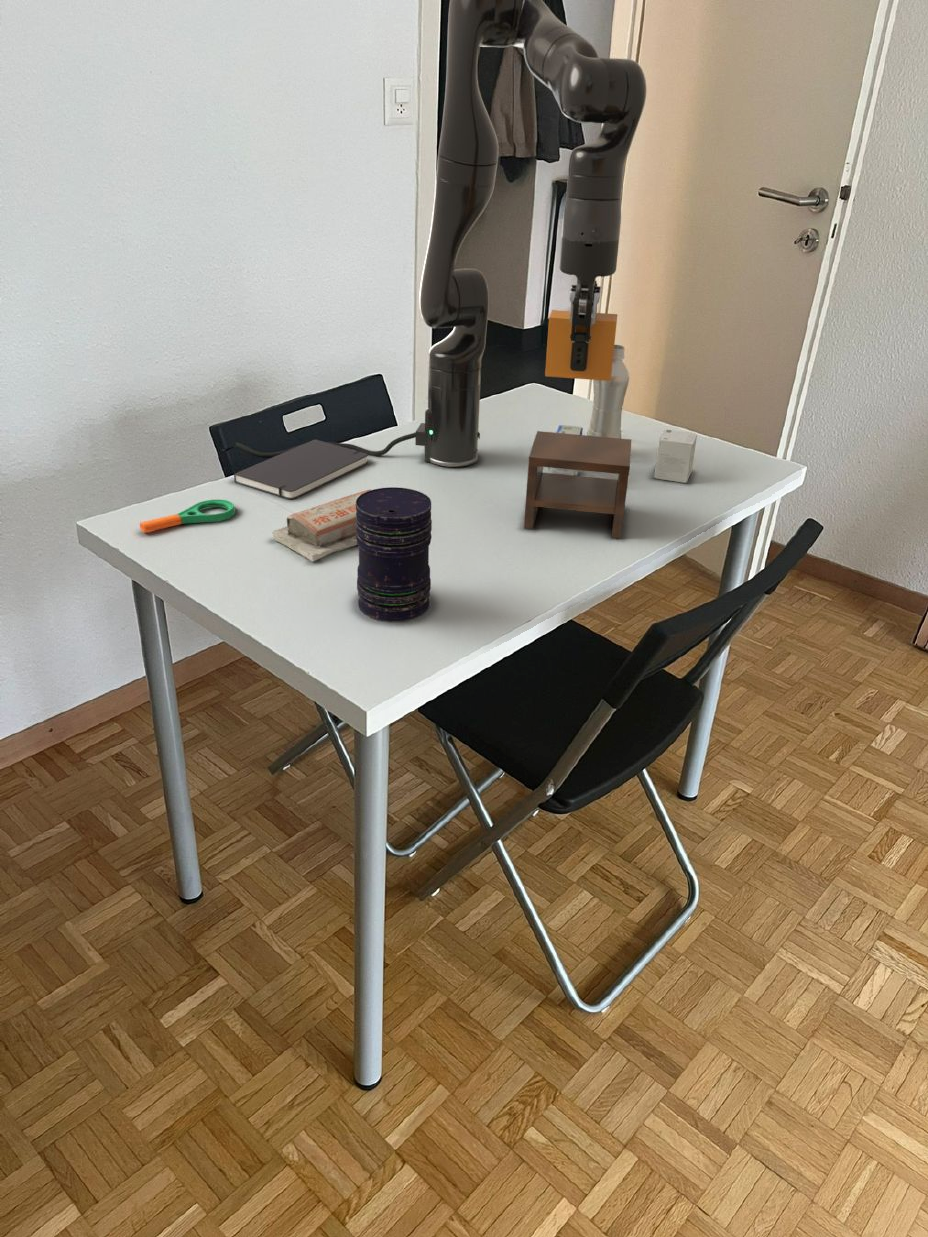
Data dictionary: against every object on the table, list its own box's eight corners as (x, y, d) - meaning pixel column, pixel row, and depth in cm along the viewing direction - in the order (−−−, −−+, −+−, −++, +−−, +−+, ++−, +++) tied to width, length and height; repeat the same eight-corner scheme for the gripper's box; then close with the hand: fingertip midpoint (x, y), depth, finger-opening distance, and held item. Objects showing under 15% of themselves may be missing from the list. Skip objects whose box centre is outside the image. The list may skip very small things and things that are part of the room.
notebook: (315, 447, 182) (234, 482, 166) (314, 438, 181) (233, 473, 165) (369, 462, 176) (291, 500, 160) (369, 454, 175) (291, 491, 160)
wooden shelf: (523, 528, 154) (528, 456, 148) (532, 499, 164) (537, 430, 158) (620, 538, 152) (629, 466, 146) (622, 508, 162) (631, 439, 156)
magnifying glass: (223, 503, 159) (222, 493, 158) (242, 515, 155) (241, 505, 154) (134, 527, 150) (132, 516, 149) (152, 540, 146) (150, 530, 145)
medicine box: (574, 489, 168) (579, 441, 164) (548, 486, 169) (552, 439, 165) (578, 472, 175) (583, 426, 171) (554, 470, 176) (558, 423, 171)
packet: (545, 376, 135) (549, 317, 131) (547, 367, 139) (551, 309, 135) (610, 381, 134) (616, 321, 130) (611, 372, 138) (617, 314, 134)
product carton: (687, 483, 172) (693, 444, 169) (653, 478, 174) (658, 439, 170) (691, 472, 177) (698, 433, 174) (658, 467, 179) (663, 428, 175)
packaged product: (363, 481, 156) (405, 500, 150) (364, 509, 158) (405, 529, 152) (269, 511, 145) (311, 533, 139) (271, 540, 147) (312, 564, 141)
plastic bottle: (594, 444, 188) (606, 340, 178) (626, 452, 185) (639, 346, 175) (578, 453, 184) (588, 346, 173) (609, 462, 180) (622, 354, 170)
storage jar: (362, 584, 136) (360, 485, 129) (432, 588, 136) (434, 488, 129) (352, 621, 128) (350, 516, 120) (427, 624, 128) (429, 520, 120)
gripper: (565, 225, 134) (556, 350, 142) (557, 241, 121) (547, 377, 130) (620, 228, 133) (607, 354, 141) (618, 244, 120) (604, 381, 129)
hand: (579, 364), depth 135 cm, fingers closed on packet, 4 cm apart
